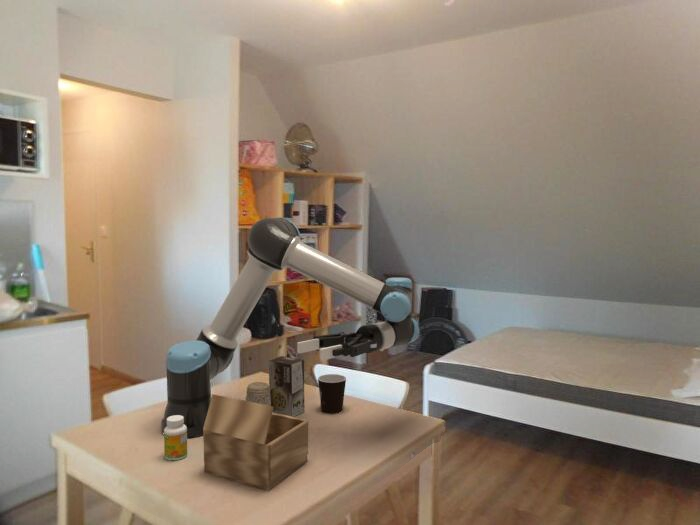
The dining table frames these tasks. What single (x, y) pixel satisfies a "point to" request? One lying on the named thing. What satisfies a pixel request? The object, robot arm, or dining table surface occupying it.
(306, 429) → the wooden open box
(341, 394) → the coffee mug
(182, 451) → the supplement bottle
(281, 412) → the coffee box
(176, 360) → the robot arm
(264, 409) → the flap
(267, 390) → the carving
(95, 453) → the dining table surface
